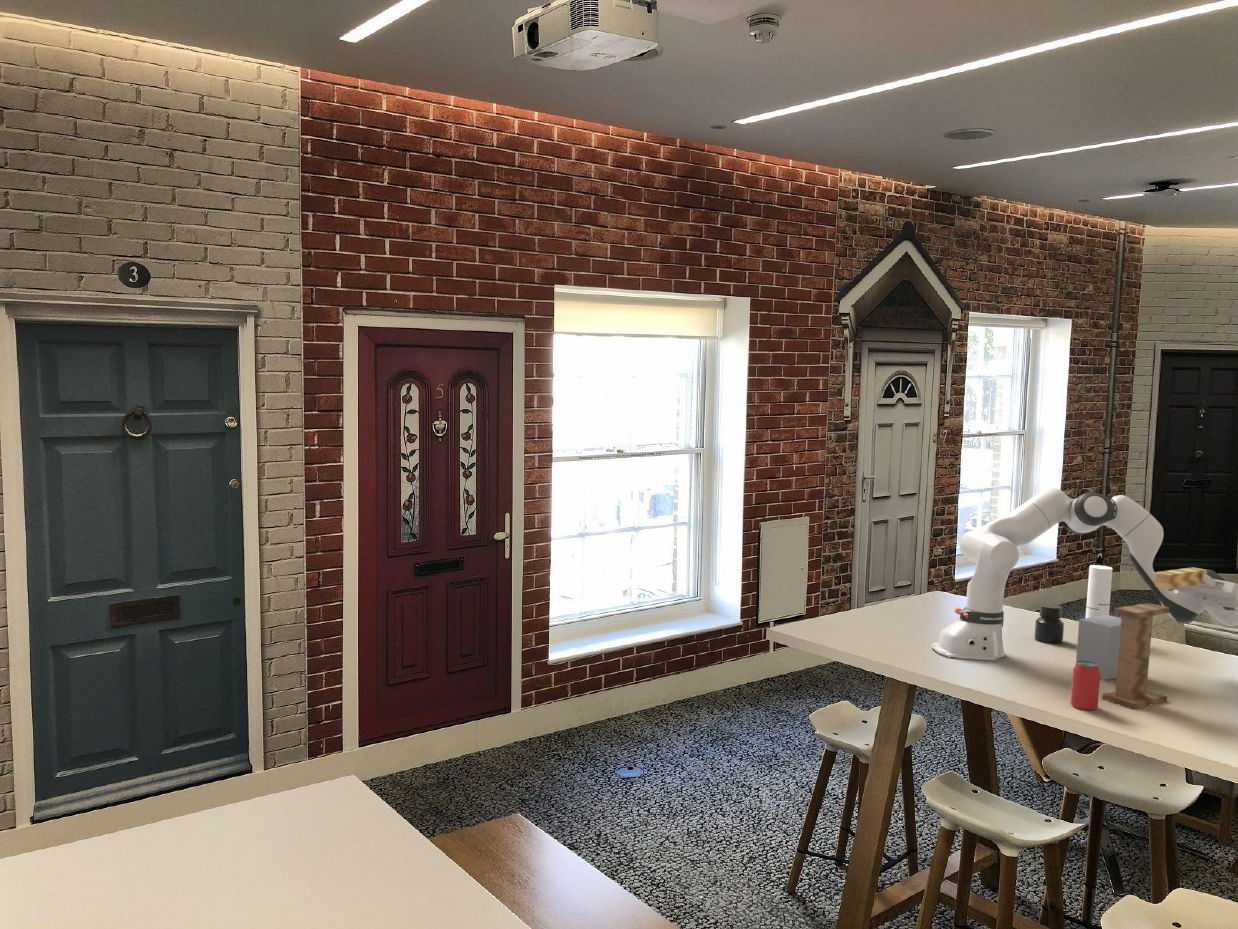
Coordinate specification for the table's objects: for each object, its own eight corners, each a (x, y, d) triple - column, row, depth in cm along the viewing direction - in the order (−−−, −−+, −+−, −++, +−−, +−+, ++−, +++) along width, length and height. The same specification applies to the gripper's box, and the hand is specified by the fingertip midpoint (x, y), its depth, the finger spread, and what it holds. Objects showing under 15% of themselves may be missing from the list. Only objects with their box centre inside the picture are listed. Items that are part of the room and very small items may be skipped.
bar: (1191, 580, 285) (1192, 567, 285) (1205, 583, 282) (1207, 569, 281) (1154, 586, 275) (1155, 572, 275) (1168, 589, 272) (1170, 574, 271)
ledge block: (1102, 665, 305) (1106, 614, 304) (1133, 674, 297) (1137, 622, 296) (1075, 670, 298) (1079, 619, 297) (1106, 680, 290) (1110, 627, 288)
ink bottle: (1069, 643, 331) (1072, 608, 330) (1051, 645, 327) (1053, 610, 326) (1045, 636, 340) (1048, 602, 339) (1027, 638, 336) (1030, 604, 335)
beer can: (1065, 702, 267) (1068, 659, 266) (1088, 702, 268) (1092, 660, 267) (1079, 711, 261) (1082, 667, 260) (1102, 711, 261) (1106, 667, 260)
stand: (1135, 691, 279) (1142, 602, 277) (1166, 700, 272) (1174, 608, 270) (1102, 699, 271) (1109, 607, 269) (1133, 709, 263) (1141, 614, 261)
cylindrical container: (1109, 641, 335) (1115, 569, 333) (1087, 640, 336) (1092, 568, 334) (1103, 636, 342) (1109, 566, 340) (1081, 634, 343) (1087, 564, 341)
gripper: (1181, 578, 297) (1160, 558, 291) (1252, 592, 280) (1232, 571, 273) (1173, 597, 296) (1153, 577, 289) (1245, 612, 279) (1225, 591, 272)
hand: (1192, 574), depth 281 cm, fingers closed on bar, 4 cm apart
